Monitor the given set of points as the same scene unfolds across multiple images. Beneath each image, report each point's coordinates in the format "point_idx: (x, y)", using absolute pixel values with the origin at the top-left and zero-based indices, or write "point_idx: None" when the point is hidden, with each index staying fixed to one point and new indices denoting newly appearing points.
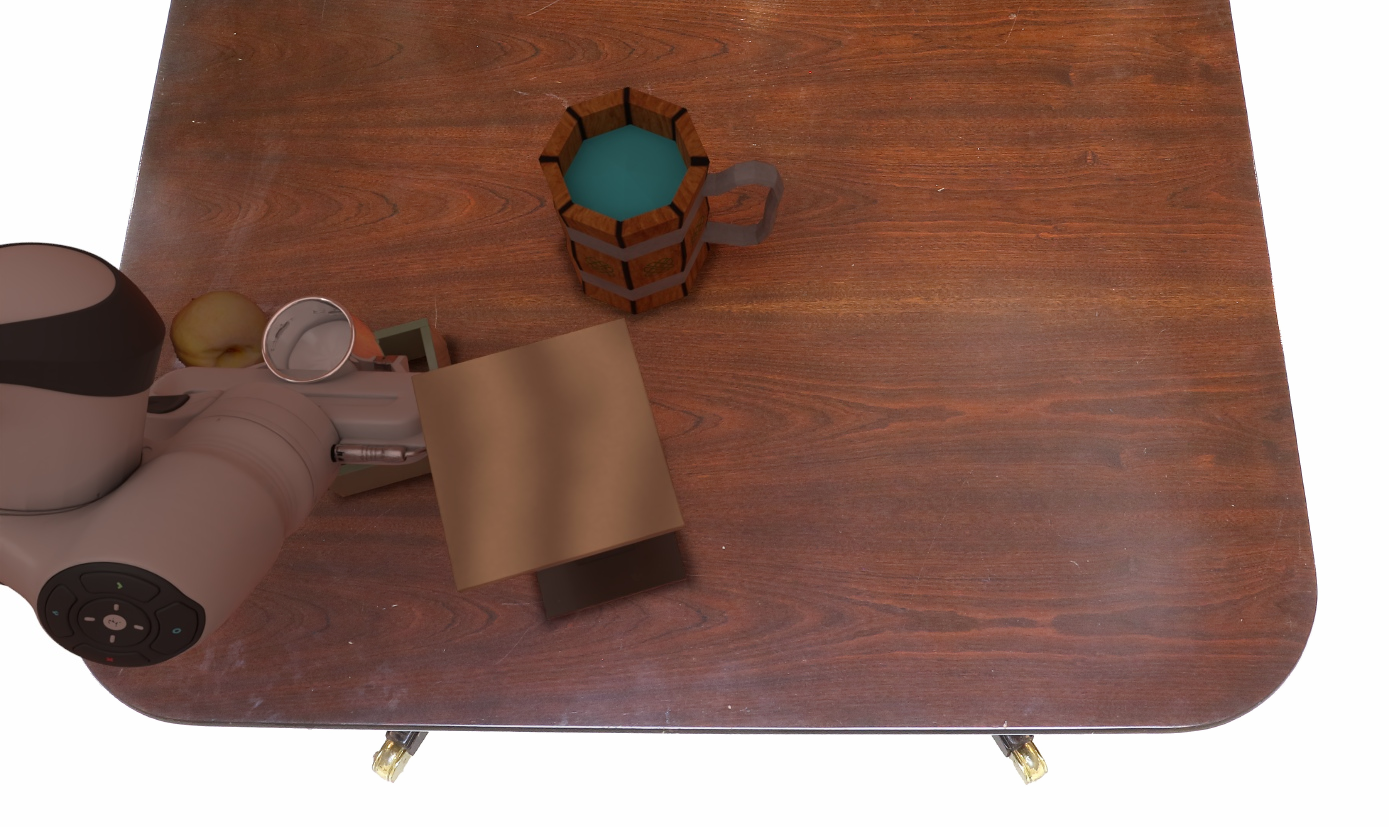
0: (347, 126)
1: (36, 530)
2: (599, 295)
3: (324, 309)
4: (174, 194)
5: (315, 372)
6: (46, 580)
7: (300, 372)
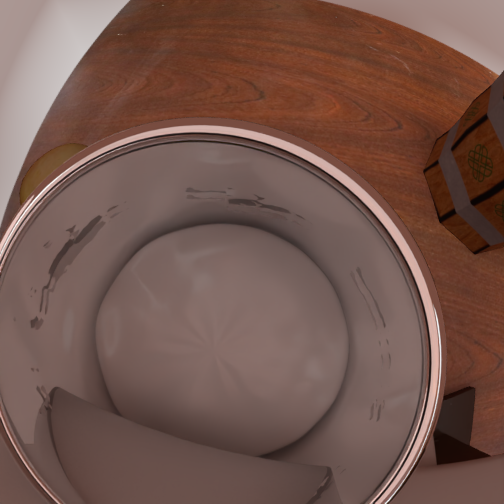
0: (228, 36)
1: None
2: (457, 229)
3: (229, 191)
4: (85, 75)
5: (184, 478)
6: None
7: (124, 459)
